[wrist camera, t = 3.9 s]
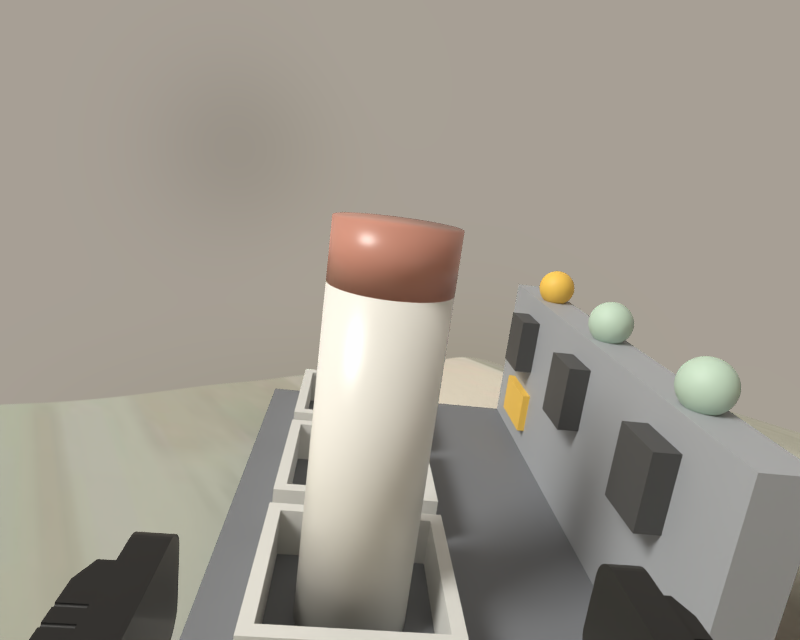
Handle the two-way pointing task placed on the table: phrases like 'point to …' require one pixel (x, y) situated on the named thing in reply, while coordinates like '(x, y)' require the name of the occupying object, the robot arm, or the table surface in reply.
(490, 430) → the breaker board
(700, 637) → the robot arm
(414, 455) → the plug
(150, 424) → the table surface
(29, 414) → the table surface
